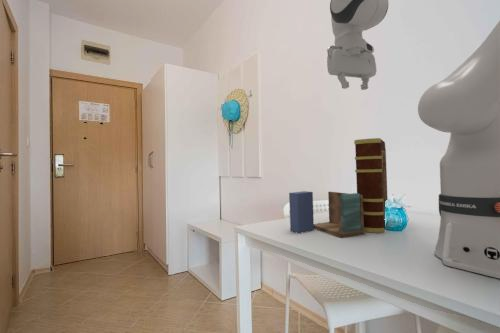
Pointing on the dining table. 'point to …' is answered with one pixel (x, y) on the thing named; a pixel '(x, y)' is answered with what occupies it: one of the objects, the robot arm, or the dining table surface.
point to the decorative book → (372, 182)
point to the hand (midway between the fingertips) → (355, 88)
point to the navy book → (301, 211)
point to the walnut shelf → (344, 215)
